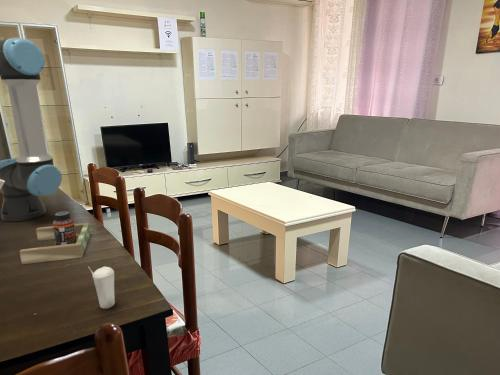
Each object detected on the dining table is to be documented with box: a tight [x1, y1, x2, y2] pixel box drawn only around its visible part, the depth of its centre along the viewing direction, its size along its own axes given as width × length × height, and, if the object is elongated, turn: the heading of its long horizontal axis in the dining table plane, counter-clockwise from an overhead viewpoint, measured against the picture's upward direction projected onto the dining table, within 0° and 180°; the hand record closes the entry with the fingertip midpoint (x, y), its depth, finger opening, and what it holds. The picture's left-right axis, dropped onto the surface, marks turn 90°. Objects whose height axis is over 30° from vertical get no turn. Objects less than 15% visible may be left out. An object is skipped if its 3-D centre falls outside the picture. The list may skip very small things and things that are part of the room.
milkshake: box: [87, 266, 116, 310], centre depth 83 cm, size 4×5×10 cm
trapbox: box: [19, 222, 91, 265], centre depth 115 cm, size 19×16×4 cm
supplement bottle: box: [52, 210, 77, 246], centre depth 115 cm, size 6×6×11 cm
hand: (2, 185), depth 113 cm, fingers closed
